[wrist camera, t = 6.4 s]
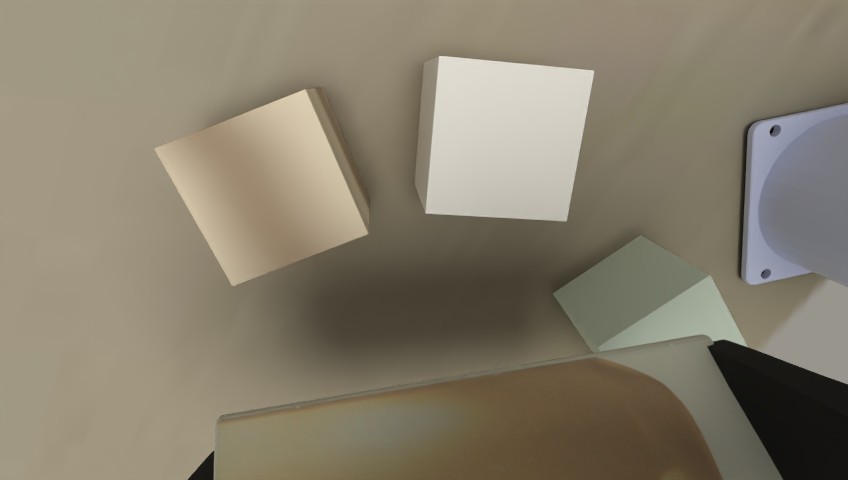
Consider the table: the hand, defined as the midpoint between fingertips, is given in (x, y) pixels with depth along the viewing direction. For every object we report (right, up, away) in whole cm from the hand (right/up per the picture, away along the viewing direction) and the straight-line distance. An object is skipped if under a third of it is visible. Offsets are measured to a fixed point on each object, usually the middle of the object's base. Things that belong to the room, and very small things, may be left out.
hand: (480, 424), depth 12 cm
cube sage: (+8, +2, +11) cm, 14 cm away
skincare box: (+6, -1, +1) cm, 7 cm away
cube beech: (-7, +8, +8) cm, 13 cm away
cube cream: (+1, +9, +8) cm, 12 cm away
